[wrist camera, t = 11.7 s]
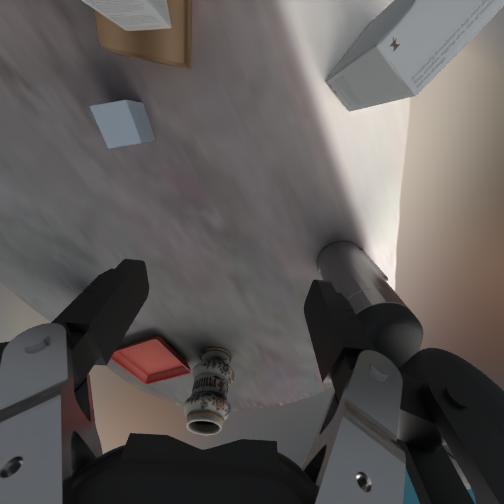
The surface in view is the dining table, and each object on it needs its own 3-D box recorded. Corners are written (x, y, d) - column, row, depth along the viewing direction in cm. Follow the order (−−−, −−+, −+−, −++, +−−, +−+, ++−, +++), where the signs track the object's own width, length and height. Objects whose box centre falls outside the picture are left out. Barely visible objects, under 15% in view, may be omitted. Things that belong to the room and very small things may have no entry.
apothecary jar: (209, 339, 60) (194, 413, 45) (243, 354, 64) (240, 427, 49) (189, 358, 65) (169, 430, 50) (221, 371, 69) (212, 442, 54)
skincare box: (348, 112, 32) (411, 106, 19) (321, 79, 30) (373, 48, 17) (399, 54, 28) (519, -1, 15) (373, 13, 26) (487, -90, 13)
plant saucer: (111, 345, 63) (104, 355, 60) (159, 329, 59) (155, 339, 56) (150, 374, 71) (146, 385, 69) (195, 362, 67) (192, 373, 65)
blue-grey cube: (143, 102, 31) (125, 99, 27) (155, 140, 34) (141, 143, 29) (111, 108, 31) (89, 106, 27) (126, 145, 34) (108, 148, 30)
